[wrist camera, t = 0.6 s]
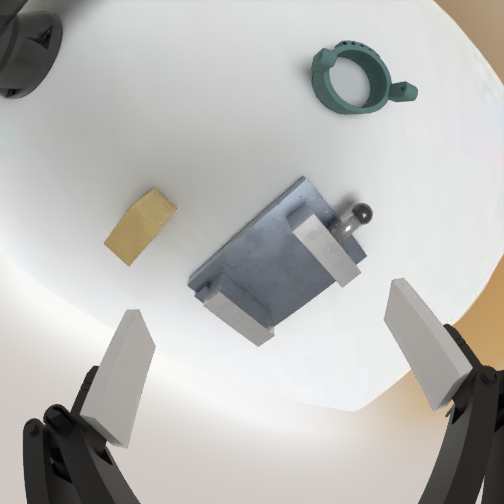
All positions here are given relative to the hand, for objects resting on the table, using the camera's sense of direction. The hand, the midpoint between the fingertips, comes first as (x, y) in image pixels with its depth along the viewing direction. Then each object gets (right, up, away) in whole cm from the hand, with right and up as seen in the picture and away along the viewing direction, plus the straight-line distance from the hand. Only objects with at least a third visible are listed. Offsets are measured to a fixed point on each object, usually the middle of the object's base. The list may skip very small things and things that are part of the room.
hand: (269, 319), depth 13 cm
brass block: (-14, +8, +21) cm, 27 cm away
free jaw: (+10, +7, +20) cm, 23 cm away
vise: (+3, +2, +25) cm, 25 cm away
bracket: (+11, +25, +14) cm, 30 cm away
